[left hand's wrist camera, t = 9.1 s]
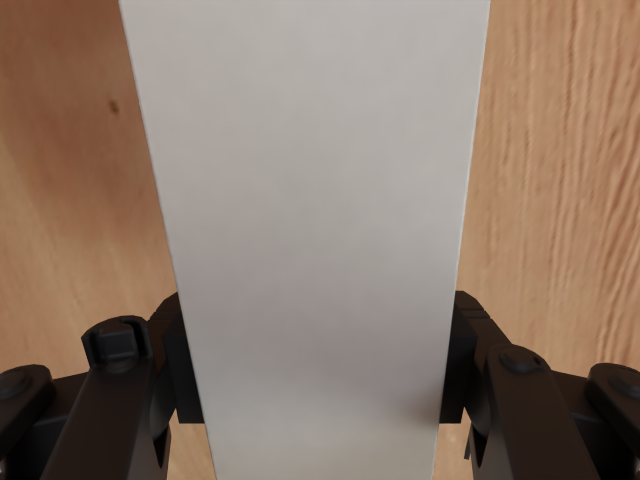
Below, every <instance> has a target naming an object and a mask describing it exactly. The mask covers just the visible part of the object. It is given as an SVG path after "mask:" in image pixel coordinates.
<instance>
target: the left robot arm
mask: <svg viewBox="0 0 640 480" xmlns="http://www.w3.org/2000/svg"><path fill="white" fill-rule="evenodd" d="M81 340H82V343H83V346H84V349H85V353H86V356H87V359H88V362H89V366H90V369H89V371H88V372H85V373H81V374H77V375H72V376H67V377H63V378H58V379H52V376H51V373H50V370H49V369H48V368H47V367H45V366H44V365H36V364H32V365H25V366H20V367H16V368H14V369H10V370H7V371H5V372H3V373H1V374H0V469H1V473H0V480H166V479H167V470H168V462H169V453H170V444H171V432H170V426H169V421H170V419H171V417H172V414H173V412H174V410H175V408H176V410H177V415H178V420H179V423H204V418H203V413H202V408H201V403H200V398H199V393H198V389H197V384H196V379H195V374H194V369H193V364H192V359H191V354H190V349H189V345H188V340H187V335H186V330H185V325H184V320H183V315H182V310H181V305H180V301H179V296H178V292H176V293H174V294H173V295H171V296H170V297H168V298H167V299H165V300H164V301H163V302H162V303H161V304H160V306H159V307H158V308H157V309H156V312H154V313H153V315H152V316H151V317H150V320H148V321H146V320H145V319H143V318H142V317H139V316H134V315H129V316H119V317H115V318H110V319H107V320H105V321H103V322H100V323H98V324H96V325H95V326H93V327H91V328H90V329H88V330H87V331H86V332H85V333H84V334H83V336H82V337H81ZM464 407H465V409H466V411H467V413H468V415H469V417H470V419H471V426H470V431H469V435H468V440H467V445H466V449H465V455H464V459H468V460H469V457H470V452H471V461H472V470H473V478H474V480H640V471H639V469H640V372H639V371H637V370H635V369H632V368H630V367H626V366H623V365H619V364H612V363H599V364H596V365H594V366H593V367H592V368H591V369H590V372H589V375H588V378H585V377H580V376H575V375H570V374H566V373H561V372H557V371H553V370H551V368H550V367H549V365H548V364H547V363H546V361H545V360H544V359H543V358H542V357H540V356H539V355H538V354H536V353H535V352H533V351H531V350H529V349H527V348H524V347H522V346H518V345H514V344H512V343H511V342H510V341H509V339H508V338H507V337H506V336H505V334H504V333H503V332H502V331H501V330H500V328H499V327H498V326H497V325H496V323H495V322H494V321H493V320H492V319H490V316H489V315H488V313H487V312H486V311H484V308H483V307H482V306H481V305H480V303H479V302H478V301H477V300H476V299H475V298H474V297H472V296H471V295H469V294H467V293H466V292H464V291H455V297H454V305H453V314H452V322H451V330H450V338H449V346H448V355H447V363H446V371H445V379H444V387H443V395H442V404H441V412H440V420H439V423H461V419H462V414H463V409H464Z"/></svg>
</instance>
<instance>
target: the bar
mask: <svg viewBox="0 0 640 480" xmlns="http://www.w3.org/2000/svg"><path fill="white" fill-rule="evenodd" d="M118 2H119V7H120V12H121V17H122V22H123V27H124V32H125V37H126V41H127V46H128V51H129V56H130V61H131V66H132V71H133V76H134V81H135V85H136V90H137V95H138V100H139V105H140V110H141V115H142V120H143V125H144V129H145V134H146V139H147V144H148V149H149V154H150V159H151V164H152V169H153V173H154V178H155V183H156V188H157V193H158V198H159V203H160V208H161V213H162V217H163V222H164V227H165V232H166V237H167V242H168V247H169V252H170V257H171V261H172V266H173V271H174V276H175V281H176V286H177V291H178V296H179V301H180V305H181V310H182V315H183V320H184V325H185V330H186V335H187V340H188V345H189V349H190V354H191V359H192V364H193V369H194V374H195V379H196V384H197V389H198V393H199V398H200V403H201V408H202V413H203V418H204V423H205V428H206V433H207V437H208V442H209V447H210V452H211V457H212V462H213V467H214V472H215V477H216V480H432V477H433V469H434V461H435V453H436V444H437V436H438V428H439V420H440V412H441V404H442V395H443V387H444V379H445V371H446V363H447V355H448V346H449V338H450V330H451V322H452V314H453V305H454V297H455V289H456V281H457V273H458V265H459V256H460V248H461V240H462V232H463V224H464V215H465V207H466V199H467V191H468V183H469V175H470V166H471V158H472V150H473V142H474V134H475V126H476V117H477V109H478V101H479V93H480V85H481V76H482V68H483V60H484V52H485V44H486V36H487V27H488V19H489V11H490V3H491V0H118Z"/></svg>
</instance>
